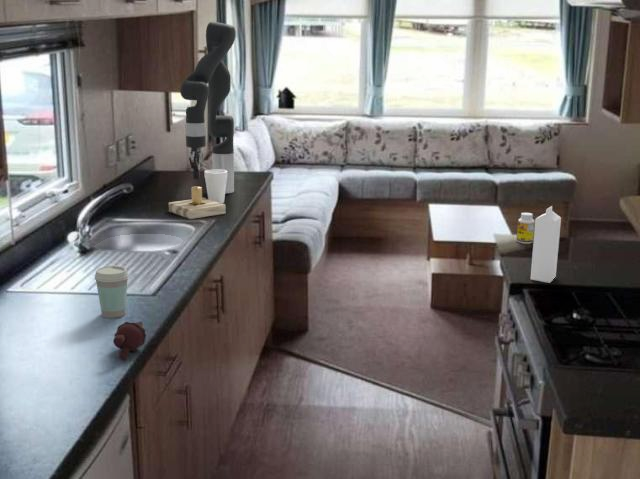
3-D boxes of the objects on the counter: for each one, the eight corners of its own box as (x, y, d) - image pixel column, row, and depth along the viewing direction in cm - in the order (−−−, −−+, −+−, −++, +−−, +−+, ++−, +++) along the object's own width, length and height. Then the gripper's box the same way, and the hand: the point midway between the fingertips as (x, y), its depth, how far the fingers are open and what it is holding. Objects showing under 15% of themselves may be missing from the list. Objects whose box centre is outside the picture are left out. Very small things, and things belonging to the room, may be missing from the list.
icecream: (122, 311, 201) (98, 339, 187) (151, 306, 200) (128, 334, 186) (131, 337, 203) (108, 367, 189) (159, 332, 202) (138, 362, 188)
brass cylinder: (190, 212, 330) (189, 187, 327) (198, 210, 332) (198, 185, 330) (195, 214, 327) (194, 188, 324) (204, 212, 329) (203, 187, 327)
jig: (168, 211, 331) (168, 202, 330) (203, 206, 341) (203, 197, 340) (190, 219, 319) (189, 210, 318) (225, 213, 329) (225, 204, 328)
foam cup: (229, 200, 352) (229, 169, 348) (225, 205, 343) (224, 173, 339) (207, 199, 353) (207, 168, 349) (202, 204, 344) (201, 172, 340)
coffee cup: (132, 318, 215) (130, 273, 212) (98, 321, 212) (95, 276, 209) (128, 307, 223) (126, 263, 220) (95, 310, 220) (92, 266, 217)
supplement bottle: (513, 240, 296) (515, 212, 293) (527, 239, 297) (529, 211, 295) (522, 244, 290) (524, 216, 288) (535, 243, 292) (538, 215, 290)
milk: (555, 278, 254) (562, 207, 248) (549, 283, 249) (557, 210, 243) (535, 274, 257) (542, 204, 251) (529, 279, 252) (536, 207, 246)
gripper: (201, 137, 315) (202, 182, 319) (209, 132, 328) (209, 176, 332) (181, 136, 316) (182, 181, 320) (190, 131, 328) (191, 175, 333)
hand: (196, 178), depth 326 cm, fingers closed
